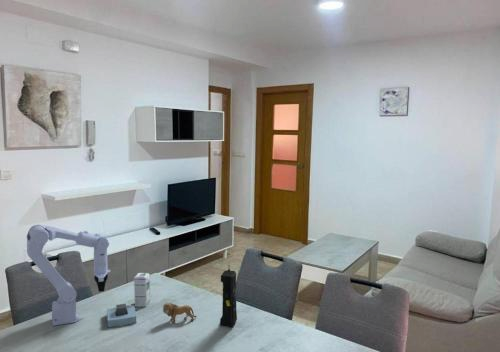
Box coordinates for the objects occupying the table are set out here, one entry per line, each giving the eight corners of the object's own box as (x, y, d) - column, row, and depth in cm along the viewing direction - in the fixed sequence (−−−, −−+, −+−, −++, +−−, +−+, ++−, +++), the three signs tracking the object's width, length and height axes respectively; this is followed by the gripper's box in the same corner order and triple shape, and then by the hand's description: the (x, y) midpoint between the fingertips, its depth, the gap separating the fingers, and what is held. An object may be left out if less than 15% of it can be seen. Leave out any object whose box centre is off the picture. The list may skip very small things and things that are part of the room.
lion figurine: (164, 326, 163) (164, 306, 162) (162, 320, 168) (161, 301, 166) (197, 320, 168) (198, 301, 167) (194, 315, 173) (195, 296, 172)
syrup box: (146, 307, 180) (146, 277, 178) (134, 306, 180) (133, 276, 178) (150, 301, 186) (150, 272, 184) (138, 301, 186) (137, 272, 184)
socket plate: (107, 327, 161) (107, 320, 160) (107, 315, 171) (107, 308, 171) (136, 323, 165) (136, 316, 164) (134, 311, 175) (134, 305, 175)
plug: (116, 322, 165) (116, 308, 165) (116, 317, 169) (116, 304, 168) (126, 320, 167) (126, 307, 166) (126, 316, 171) (125, 303, 170)
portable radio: (233, 329, 162) (234, 272, 159) (219, 327, 163) (220, 270, 160) (237, 320, 169) (238, 265, 166) (224, 318, 170) (225, 264, 167)
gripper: (110, 266, 167) (111, 296, 169) (109, 256, 181) (110, 283, 182) (93, 268, 165) (94, 298, 166) (93, 257, 178) (94, 285, 180)
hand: (101, 291), depth 174 cm, fingers closed
